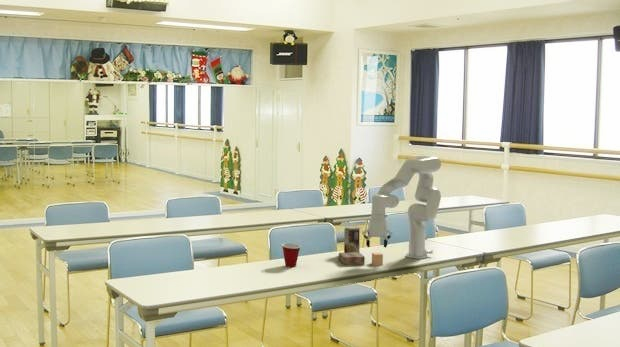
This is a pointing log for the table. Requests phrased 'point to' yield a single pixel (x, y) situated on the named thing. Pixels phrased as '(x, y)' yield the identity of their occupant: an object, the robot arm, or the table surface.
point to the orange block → (377, 258)
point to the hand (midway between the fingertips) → (376, 247)
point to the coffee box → (351, 240)
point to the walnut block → (351, 258)
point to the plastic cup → (290, 254)
